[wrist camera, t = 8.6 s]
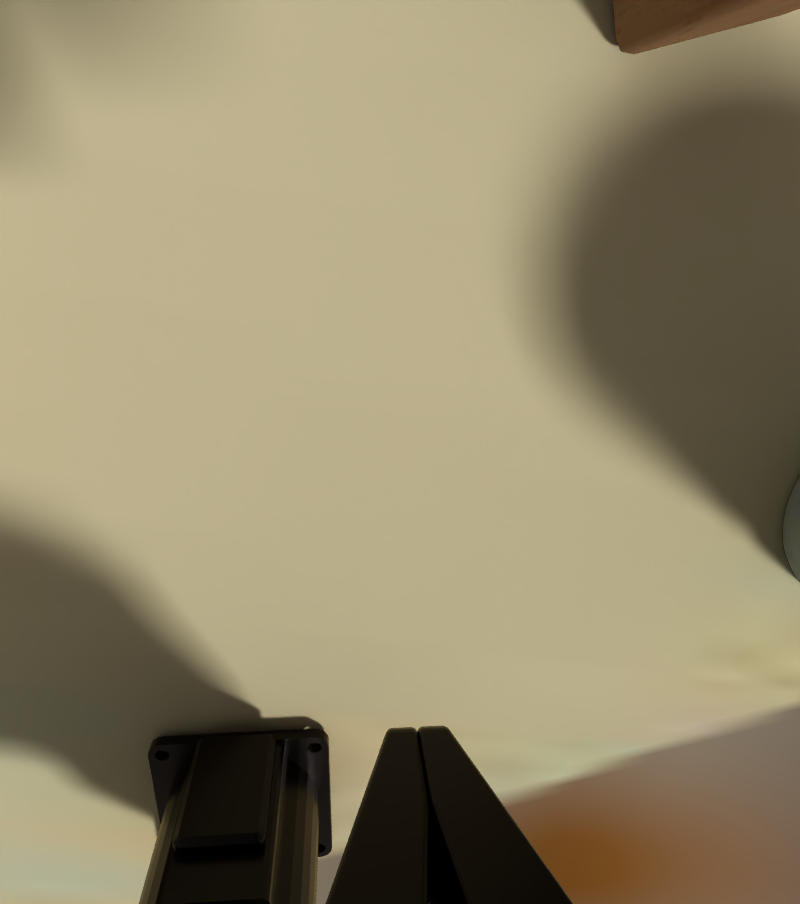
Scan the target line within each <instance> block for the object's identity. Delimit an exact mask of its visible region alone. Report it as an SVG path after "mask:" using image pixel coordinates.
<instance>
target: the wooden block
mask: <svg viewBox="0 0 800 904" xmlns="http://www.w3.org/2000/svg"><path fill="white" fill-rule="evenodd" d="M613 9H614V21H615V32H616V41H617V43H618V46H619V48H620V51H622V52H625V53H630V54H636V53H640V52H644V51H648V50H652V49H655V48H659V47H663V46H667V45H670V44H674V43H678V42H682V41H685V40H689V39H693V38H697V37H701V36H704V35H708V34H712V33H716V32H719V31H723V30H727V29H731V28H734V27H738V26H742V25H746V24H750V23H753V22H757V21H761V20H765V19H768V18H772V17H776V16H780V15H783V14H786V13H788V12H791V11H794V10H797V9H800V0H613Z"/></svg>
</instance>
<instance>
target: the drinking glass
mask: <svg viewBox="0 0 800 904" xmlns="http://www.w3.org/2000/svg"><path fill="white" fill-rule="evenodd" d="M783 545H784V551H785V554H786V557H787V559H788V562H789V565H790V567H791V569H792V570H793V572H794V574H795V576H796V577H797V579H798V580H799V581H800V477H799V478H798V480H797V482H796V483H795V486H794V488H793V490H792V493H791V495H790V498H789V500H788V503H787V507H786V511H785V515H784V521H783Z"/></svg>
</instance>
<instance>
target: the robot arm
mask: <svg viewBox="0 0 800 904" xmlns="http://www.w3.org/2000/svg"><path fill="white" fill-rule="evenodd" d="M314 742H315V743H318V744H312V743H314ZM161 750H164V751H161ZM165 751H167V752H165ZM148 758H149V764H150V769H151V774H152V780H153V785H154V791H155V796H156V802H157V807H158V813H159V818H160V824H161V825H160V829H159V833H158V836H157V840H156V843H155V847H154V851H153V854H152V858H151V862H150V865H149V869H148V872H147V876H146V880H145V883H144V887H143V890H142V894H141V898H140V901H139V904H316V890H317V889H316V888H317V862H318V857H322V856H325V855H327V854H329V853H330V852H331V849H332V824H331V794H330V765H329V738H328V735H327V734H326V733H325V732H324V731H322V730H320V729H305V730H284V731H263V732H243V733H222V734H202V735H181V736H163V737H158V738H156V739H154V740H153V742H152V743H151V746H150V749H149V752H148ZM326 904H573V903H572V901H571V900H570V898H569V897H568V895H567V894H566V892H565V891H564V890H563V888H562V887H561V885H560V884H559V883H558V881H557V880H556V878H555V877H554V876H553V874H552V873H551V871H550V870H549V869H548V867H547V866H546V864H545V863H544V862H543V860H542V859H541V857H540V856H539V855H538V853H537V852H536V850H535V849H534V848H533V846H532V845H531V843H530V842H529V841H528V839H527V838H526V836H525V835H524V834H523V832H522V831H521V829H520V828H519V827H518V825H517V824H516V822H515V821H514V820H513V818H512V817H511V816H510V814H509V813H508V811H507V810H506V808H505V807H504V806H503V804H502V803H501V801H500V800H499V799H498V797H497V796H496V794H495V793H494V792H493V790H492V789H491V787H490V786H489V785H488V783H487V782H486V780H485V779H484V778H483V776H482V775H481V773H480V772H479V771H478V769H477V768H476V766H475V765H474V764H473V762H472V761H471V759H470V758H469V757H468V755H467V754H466V752H465V751H464V750H463V748H462V747H461V745H460V744H459V743H458V741H457V740H456V738H455V737H454V736H453V734H452V733H451V731H450V730H449V729H448V728H447V727H445V726H426V727H420V728H419V729H418V731H416V729H415V728H413V727H406V728H391V729H389V730H388V731H387V732H386V734H385V737H384V740H383V743H382V745H381V748H380V751H379V754H378V757H377V760H376V762H375V765H374V768H373V771H372V774H371V777H370V779H369V782H368V785H367V788H366V791H365V794H364V796H363V799H362V802H361V805H360V808H359V811H358V813H357V816H356V819H355V822H354V825H353V828H352V830H351V833H350V836H349V839H348V842H347V845H346V847H345V850H344V853H343V856H342V859H341V862H340V865H339V868H338V870H337V873H336V876H335V879H334V882H333V884H332V887H331V890H330V893H329V896H328V899H327V901H326Z"/></svg>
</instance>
